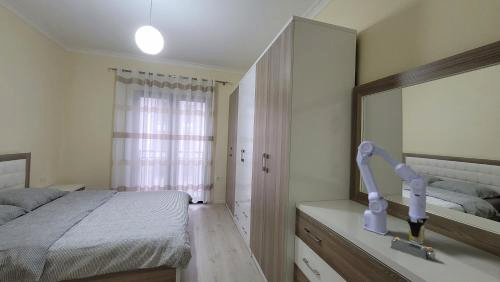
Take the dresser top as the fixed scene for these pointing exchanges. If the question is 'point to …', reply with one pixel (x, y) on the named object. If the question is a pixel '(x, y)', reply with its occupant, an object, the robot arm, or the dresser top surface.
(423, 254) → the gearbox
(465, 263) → the dresser top surface
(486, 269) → the dresser top surface
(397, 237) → the guard rails
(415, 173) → the robot arm
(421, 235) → the supplement bottle
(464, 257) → the dresser top surface
